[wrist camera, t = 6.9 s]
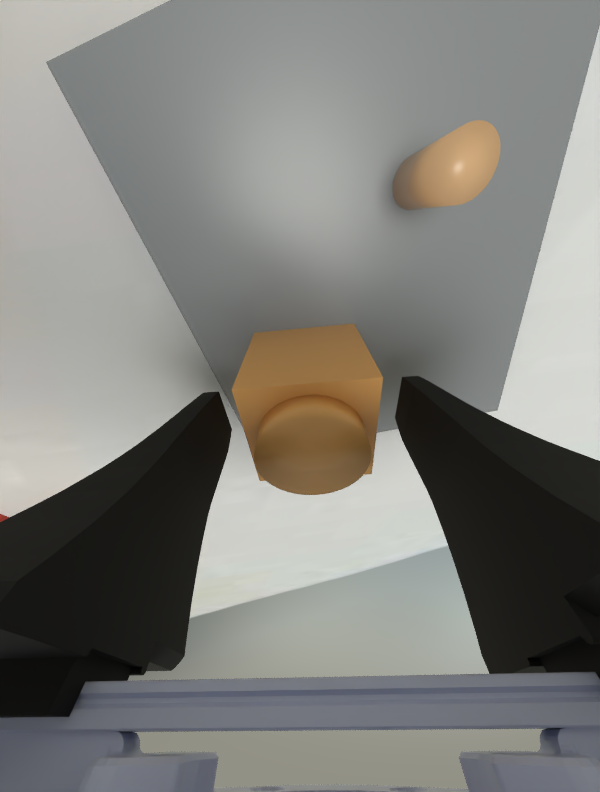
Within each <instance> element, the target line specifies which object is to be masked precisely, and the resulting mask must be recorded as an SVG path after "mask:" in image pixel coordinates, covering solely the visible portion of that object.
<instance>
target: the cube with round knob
mask: <svg viewBox="0 0 600 792" xmlns="http://www.w3.org/2000/svg"><path fill="white" fill-rule="evenodd" d="M382 383H383V376H382V374H381V372H380V371H379V369H378V367H377V365H376V363H375V361H374V359H373V358H372V356H371V354H370V352H369V350H368V348H367V346H366V345H365V343H364V341H363V339H362V337H361V335H360V333H359V332H358V330H357V328H356V326H355V324H343V325H332V326H322V327H311V328H300V329H289V330H279V331H268V332H257V333H254V335H253V337H252V340H251V342H250V345H249V347H248V350H247V352H246V355H245V357H244V360H243V362H242V365H241V367H240V370H239V372H238V375H237V377H236V380H235V382H234V385H233V387H232V393H233V396H234V399H235V403H236V406H237V409H238V412H239V415H240V419H241V422H242V425H243V428H244V432H245V435H246V438H247V441H248V444H249V448H250V451H251V454H252V457H253V460H254V464H255V467H256V470H257V473H258V477H259V480H260V481H267V482H269V483H270V484H271V485H273V486H275V487H277V488H279V489H281V490H284V491H287V492H291V493H295V494H303V495H318V494H326V493H331V492H335V491H338V490H341V489H343V488H345V487H348V486H349V485H351V484H353V483H354V482H356V481H357V480H358V479H359V478H361V477H362V476H363V474H372V466H373V458H374V449H375V441H376V433H377V424H378V416H379V408H380V400H381V391H382Z"/></svg>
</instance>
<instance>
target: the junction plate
mask: <svg viewBox="0 0 600 792" xmlns="http://www.w3.org/2000/svg"><path fill="white" fill-rule="evenodd" d="M599 25H600V0H170V1H168V2H166V3H164V4H162V5H160V6H158V7H156V8H154V9H152V10H150V11H148V12H146V13H144V14H142V15H140V16H138V17H136V18H134V19H132V20H130V21H128V22H126V23H124V24H122V25H120V26H118V27H116V28H114V29H112V30H110V31H108V32H106V33H104V34H102V35H100V36H98V37H96V38H94V39H92V40H90V41H88V42H86V43H84V44H82V45H80V46H78V47H76V48H74V49H72V50H70V51H68V52H66V53H64V54H62V55H60V56H58V57H56V58H54V59H52V60H50V61H48V62H46V63H47V65H48V67H49V69H50V71H51V72H52V74H53V76H54V78H55V80H56V82H57V83H58V85H59V87H60V89H61V91H62V93H63V95H64V96H65V98H66V100H67V102H68V104H69V106H70V108H71V109H72V111H73V113H74V115H75V117H76V119H77V121H78V122H79V124H80V126H81V128H82V130H83V132H84V133H85V135H86V137H87V139H88V141H89V143H90V145H91V146H92V148H93V150H94V152H95V154H96V156H97V158H98V159H99V161H100V163H101V165H102V167H103V169H104V171H105V172H106V174H107V176H108V178H109V180H110V182H111V183H112V185H113V187H114V189H115V191H116V193H117V195H118V196H119V198H120V200H121V202H122V204H123V206H124V208H125V209H126V211H127V213H128V215H129V217H130V219H131V221H132V222H133V224H134V226H135V228H136V230H137V232H138V233H139V235H140V237H141V239H142V241H143V243H144V245H145V246H146V248H147V250H148V252H149V254H150V256H151V258H152V259H153V261H154V263H155V265H156V267H157V269H158V271H159V272H160V274H161V276H162V278H163V280H164V282H165V284H166V285H167V287H168V289H169V291H170V293H171V295H172V296H173V298H174V300H175V302H176V304H177V306H178V308H179V309H180V311H181V313H182V315H183V317H184V319H185V321H186V322H187V324H188V326H189V328H190V330H191V332H192V334H193V335H194V337H195V339H196V341H197V343H198V345H199V346H200V348H201V350H202V352H203V354H204V356H205V358H206V359H207V361H208V363H209V365H210V367H211V369H212V371H213V372H214V374H215V376H216V378H217V380H218V382H219V384H220V385H221V387H222V389H223V391H224V393H225V395H226V396H227V398H228V400H229V402H230V404H231V406H232V408H233V409H234V411H235V413H236V415H237V417H238V419H239V421H240V422H241V419H240V415H239V412H238V409H237V406H236V403H235V399H234V396H233V393H232V387H233V385H234V382H235V380H236V377H237V375H238V372H239V370H240V367H241V365H242V362H243V360H244V357H245V355H246V352H247V350H248V347H249V345H250V342H251V340H252V337H253V335H254V333H257V332H268V331H279V330H289V329H300V328H311V327H322V326H332V325H343V324H355V326H356V328H357V330H358V332H359V333H360V335H361V337H362V339H363V341H364V343H365V345H366V346H367V348H368V350H369V352H370V354H371V356H372V358H373V359H374V361H375V363H376V365H377V367H378V369H379V371H380V372H381V374H382V376H383V383H382V391H381V400H380V408H379V416H378V424H377V432H383V431H388V430H394V429H398V426H397V423H396V420H395V414H396V408H397V403H398V397H399V391H400V385H401V380H402V377H409V376H420V377H422V378H424V379H426V380H428V381H429V382H431V383H433V384H435V385H436V386H438V387H440V388H442V389H443V390H445V391H447V392H448V393H450V394H452V395H454V396H455V397H457V398H459V399H461V400H462V401H464V402H466V403H468V404H470V405H471V406H473V407H475V408H477V409H479V410H481V411H483V412H491V411H496V410H498V406H499V402H500V399H501V395H502V391H503V387H504V384H505V380H506V376H507V372H508V369H509V365H510V361H511V357H512V353H513V350H514V346H515V342H516V338H517V335H518V331H519V327H520V323H521V319H522V316H523V312H524V308H525V304H526V301H527V297H528V293H529V289H530V286H531V282H532V278H533V274H534V270H535V267H536V263H537V259H538V255H539V252H540V248H541V244H542V240H543V237H544V233H545V229H546V225H547V221H548V218H549V214H550V210H551V206H552V203H553V199H554V195H555V191H556V188H557V184H558V180H559V176H560V172H561V169H562V165H563V161H564V157H565V154H566V150H567V146H568V142H569V138H570V135H571V131H572V127H573V123H574V120H575V116H576V112H577V108H578V105H579V101H580V97H581V93H582V89H583V86H584V82H585V78H586V74H587V71H588V67H589V63H590V59H591V56H592V52H593V48H594V44H595V40H596V37H597V33H598V29H599ZM241 424H242V422H241ZM242 426H243V425H242Z"/></svg>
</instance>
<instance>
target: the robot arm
mask: <svg viewBox="0 0 600 792" xmlns="http://www.w3.org/2000/svg"><path fill="white" fill-rule="evenodd" d="M395 420H396V423H397V426H398V429H399V432H400V435H401V438H402V440H403V442H404V445H405V447H406V449H407V451H408V453H409V455H410V457H411V459H412V461H413V463H414V465H415V467H416V469H417V471H418V473H419V475H420V477H421V479H422V481H423V483H424V485H425V487H426V489H427V491H428V493H429V495H430V498H431V500H432V502H433V505H434V507H435V510H436V513H437V515H438V518H439V521H440V523H441V526H442V529H443V531H444V534H445V537H446V540H447V543H448V546H449V549H450V551H451V554H452V557H453V560H454V563H455V566H456V569H457V573H458V576H459V579H460V582H461V585H462V588H463V591H464V594H465V598H466V601H467V604H468V608H469V611H470V615H471V618H472V621H473V625H474V628H475V631H476V635H477V639H478V642H479V646H480V650H481V654H482V656H483V659H484V661H485V664H486V666H487V668H488V671H489V673H490V674H460V675H410V676H358V677H308V678H307V677H305V678H304V677H303V678H252V679H198V680H149V681H147V680H146V681H127V680H128V678H129V675H144V674H145V672H146V671H171V670H172V669H174V668H175V667H176V666H177V665H178V664H179V662H180V661H181V660H182V659H183V657H184V655H185V647H186V639H187V631H188V624H189V617H190V609H191V602H192V596H193V590H194V584H195V578H196V572H197V566H198V561H199V556H200V551H201V545H202V540H203V536H204V531H205V526H206V522H207V517H208V513H209V509H210V506H211V502H212V499H213V496H214V493H215V490H216V487H217V484H218V481H219V478H220V475H221V472H222V469H223V465H224V462H225V459H226V456H227V453H228V448H229V443H230V437H231V431H232V428H231V426H230V423H229V420H228V417H227V414H226V411H225V408H224V405H223V402H222V400H221V397H220V394H219V392H207V393H203V394H201V395H200V396H199V397H197V398H196V399H195V400H193V401H192V402H191V403H190V404H188V405H187V406H186V407H185V408H184V409H182V410H181V411H180V412H179V413H177V414H176V415H175V416H174V417H173V418H171V419H170V420H169V421H168V422H166V423H165V424H164V425H163V426H161V427H160V428H159V429H157V430H156V431H155V432H153V433H152V434H151V435H149V436H148V437H147V438H146V439H144V440H143V441H142V442H140V443H139V444H138V445H136V446H135V447H133V448H132V449H130V450H129V451H127V452H126V453H125V454H123V455H122V456H120V457H118V458H117V459H115V460H114V461H112V462H111V463H109V464H108V465H106V466H104V467H103V468H101V469H100V470H98V471H96V472H94V473H93V474H91V475H89V476H87V477H86V478H84V479H82V480H80V481H79V482H77V483H75V484H73V485H72V486H70V487H68V488H66V489H65V490H63V491H61V492H59V493H57V494H55V495H53V496H52V497H50V498H48V499H46V500H44V501H42V502H40V503H38V504H36V505H34V506H32V507H30V508H28V509H26V510H24V511H22V512H20V513H18V514H16V515H14V516H12V517H10V518H8V519H6V520H4V521H2V522H0V792H600V461H598V460H595V459H593V458H590V457H587V456H584V455H582V454H579V453H576V452H574V451H571V450H568V449H566V448H563V447H560V446H558V445H555V444H553V443H550V442H548V441H545V440H543V439H540V438H538V437H536V436H533V435H531V434H529V433H527V432H524V431H522V430H520V429H517V428H515V427H513V426H511V425H509V424H507V423H504V422H502V421H500V420H498V419H496V418H494V417H492V416H490V415H488V414H487V413H485V412H483V411H481V410H479V409H477V408H475V407H473V406H471V405H470V404H468V403H466V402H464V401H462V400H461V399H459V398H457V397H455V396H454V395H452V394H450V393H448V392H447V391H445V390H443V389H442V388H440V387H438V386H436V385H435V384H433V383H431V382H429V381H428V380H426V379H424V378H422V377H420V376H409V377H402V380H401V385H400V391H399V397H398V403H397V408H396V414H395ZM535 728H537V729H544V730H542V732H541V735H540V743H541V747H540V750H539V751H538V752H528V751H473V752H472V751H471V752H461V753H460V756H459V759H460V763H461V766H462V769H463V773H464V776H465V779H466V783H467V786H468V789H452V788H430V787H428V788H427V787H406V786H378V785H285V786H256V787H230V788H214V782H215V776H216V769H217V762H218V756H217V754H216V753H215V752H159V753H142V751H141V750H140V740H139V737H138V735H137V733H135V732H164V731H165V732H166V731H167V732H169V731H171V732H174V731H175V732H178V731H290V730H291V731H297V730H298V731H302V730H418V729H419V730H421V729H422V730H423V729H535Z"/></svg>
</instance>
